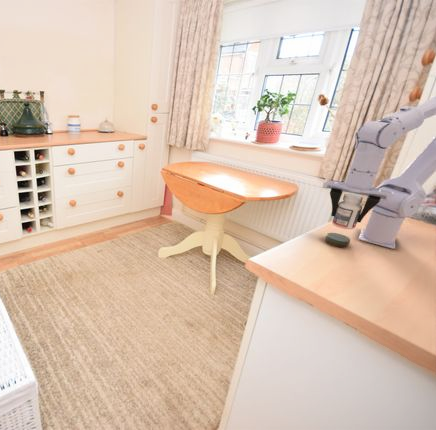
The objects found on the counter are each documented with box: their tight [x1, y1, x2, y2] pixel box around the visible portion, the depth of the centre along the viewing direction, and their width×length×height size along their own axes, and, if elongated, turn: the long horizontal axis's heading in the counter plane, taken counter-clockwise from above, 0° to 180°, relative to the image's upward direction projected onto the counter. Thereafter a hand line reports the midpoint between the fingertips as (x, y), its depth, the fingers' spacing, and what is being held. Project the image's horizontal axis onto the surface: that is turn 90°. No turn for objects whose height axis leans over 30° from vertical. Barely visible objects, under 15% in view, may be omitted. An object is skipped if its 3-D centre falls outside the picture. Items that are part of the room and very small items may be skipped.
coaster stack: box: [324, 232, 351, 249], centre depth 83 cm, size 6×6×2 cm
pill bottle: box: [331, 193, 364, 230], centre depth 80 cm, size 5×5×9 cm
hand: (345, 218), depth 81 cm, fingers closed on pill bottle, 5 cm apart
